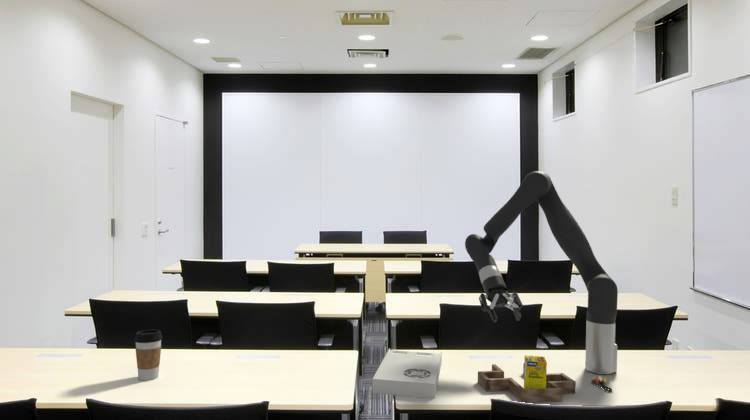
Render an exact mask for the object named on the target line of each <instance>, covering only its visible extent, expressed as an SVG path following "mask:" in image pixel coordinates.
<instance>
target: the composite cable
mask: <svg viewBox="0 0 750 420" xmlns="http://www.w3.org/2000/svg"><path fill="white" fill-rule="evenodd" d="M590 382H591V384H592V385H594V384H595V385H594V386H596V385H598V386H597V387H599V386H600V387H599V388H601V387H602V388H603V389H604V390H605V391H604V390H603V389H602V388H601V389H602V390H603V391H604V392H606V391H608V392H607V393H609V392H612V393H613V389H612V387H610V386H606V385H605V384H606V383H607V378H606V377H602V376H601V375H599V376H598V378H597V377H596V376H593V379H592V380H591V381H590ZM605 388H606V389H605ZM607 389H609V390H607Z"/></svg>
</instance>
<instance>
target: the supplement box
mask: <svg viewBox="0 0 750 420" xmlns="http://www.w3.org/2000/svg"><path fill="white" fill-rule="evenodd" d="M523 360H524V374H523V388H524V389H546V374H547V370H548V369H547V364H548V363H547V360H546V357H545V356H542V355H541V356H540V355H539V356H537V355H524V359H523Z"/></svg>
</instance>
